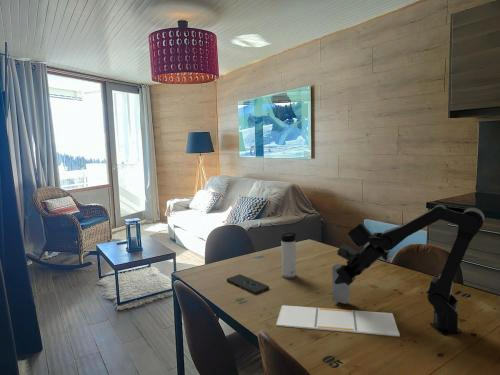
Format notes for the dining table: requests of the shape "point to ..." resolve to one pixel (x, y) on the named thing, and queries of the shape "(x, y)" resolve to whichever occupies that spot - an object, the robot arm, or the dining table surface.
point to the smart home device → (248, 284)
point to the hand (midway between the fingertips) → (337, 281)
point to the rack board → (338, 320)
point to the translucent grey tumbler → (340, 288)
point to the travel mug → (288, 255)
